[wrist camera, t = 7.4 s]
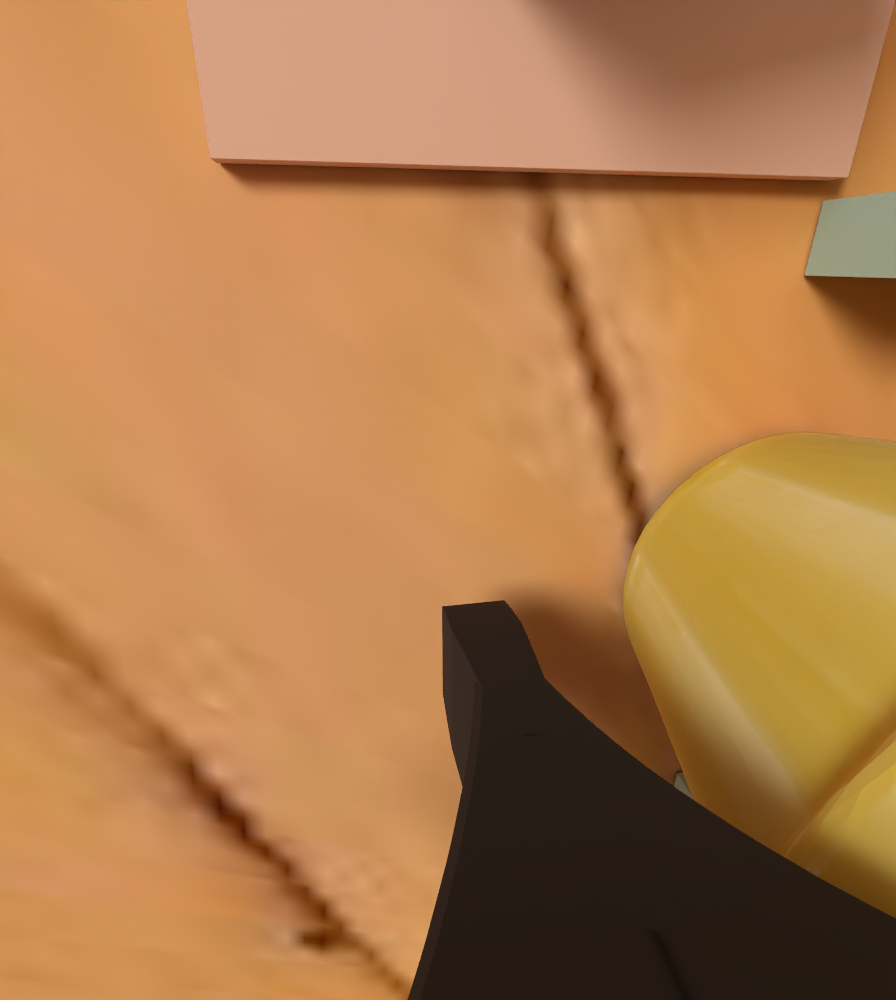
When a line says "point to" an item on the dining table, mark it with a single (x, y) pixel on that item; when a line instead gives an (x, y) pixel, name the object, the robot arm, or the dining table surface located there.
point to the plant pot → (781, 648)
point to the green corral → (849, 256)
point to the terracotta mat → (541, 84)
